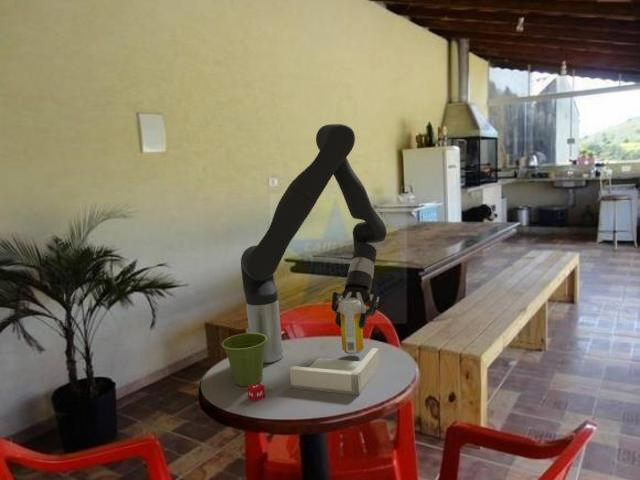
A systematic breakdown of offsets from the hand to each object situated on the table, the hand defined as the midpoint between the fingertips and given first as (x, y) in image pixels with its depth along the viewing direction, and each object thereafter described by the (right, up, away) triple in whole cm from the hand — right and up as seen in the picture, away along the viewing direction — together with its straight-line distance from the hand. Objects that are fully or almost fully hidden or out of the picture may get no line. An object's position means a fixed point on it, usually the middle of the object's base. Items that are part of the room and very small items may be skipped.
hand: (349, 326), depth 141 cm
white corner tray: (-4, -11, -10) cm, 16 cm away
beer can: (+1, -8, +3) cm, 8 cm away
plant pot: (-27, -13, -9) cm, 31 cm away
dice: (-24, -14, -19) cm, 33 cm away
